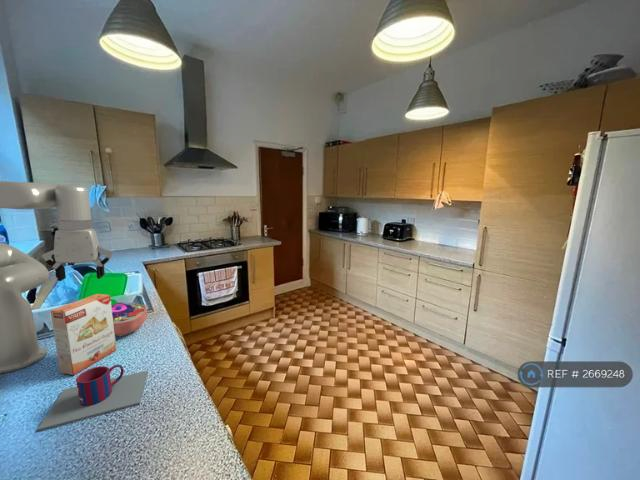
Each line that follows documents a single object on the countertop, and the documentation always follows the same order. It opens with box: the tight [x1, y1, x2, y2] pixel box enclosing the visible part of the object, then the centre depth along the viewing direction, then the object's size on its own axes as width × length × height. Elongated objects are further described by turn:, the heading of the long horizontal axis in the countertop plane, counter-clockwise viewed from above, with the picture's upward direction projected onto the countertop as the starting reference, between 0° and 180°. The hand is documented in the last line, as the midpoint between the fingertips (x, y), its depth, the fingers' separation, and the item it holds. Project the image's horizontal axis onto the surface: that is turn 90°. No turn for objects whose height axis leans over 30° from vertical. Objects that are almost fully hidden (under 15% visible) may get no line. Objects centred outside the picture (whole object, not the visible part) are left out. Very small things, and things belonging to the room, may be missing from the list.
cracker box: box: [50, 293, 117, 376], centre depth 86 cm, size 14×6×21 cm, turn 168°
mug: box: [75, 364, 124, 406], centre depth 72 cm, size 7×10×7 cm
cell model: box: [111, 302, 149, 337], centre depth 105 cm, size 17×20×11 cm
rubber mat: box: [37, 370, 149, 433], centre depth 72 cm, size 20×14×1 cm
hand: (81, 278), depth 85 cm, fingers open, 9 cm apart
